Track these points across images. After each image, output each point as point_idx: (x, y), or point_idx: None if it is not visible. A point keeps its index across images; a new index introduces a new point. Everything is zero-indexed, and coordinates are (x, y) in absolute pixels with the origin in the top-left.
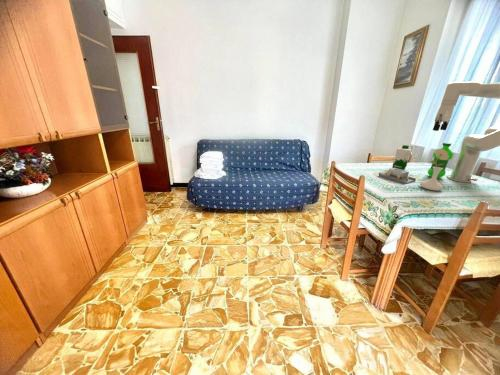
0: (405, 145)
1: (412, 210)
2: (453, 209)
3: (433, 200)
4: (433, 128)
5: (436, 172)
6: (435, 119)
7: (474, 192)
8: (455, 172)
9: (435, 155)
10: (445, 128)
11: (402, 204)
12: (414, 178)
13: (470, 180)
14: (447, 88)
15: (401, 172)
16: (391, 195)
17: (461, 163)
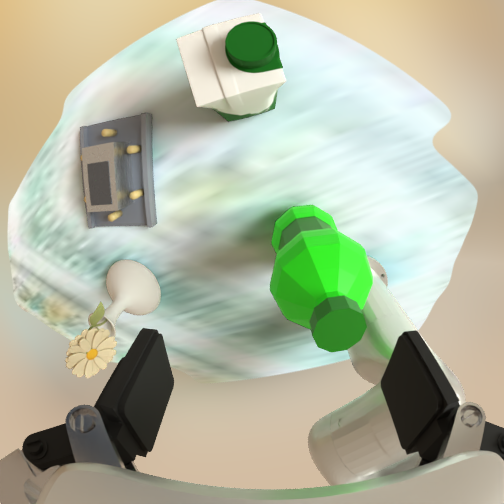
0: (266, 31)
1: (23, 309)
2: None
3: (78, 316)
4: (131, 349)
5: (103, 319)
6: (53, 484)
7: (234, 352)
8: None
9: (276, 257)
10: (387, 398)
11: (21, 291)
12: (147, 223)
13: None
14: None
15: (87, 201)
16: (23, 258)
17: None
